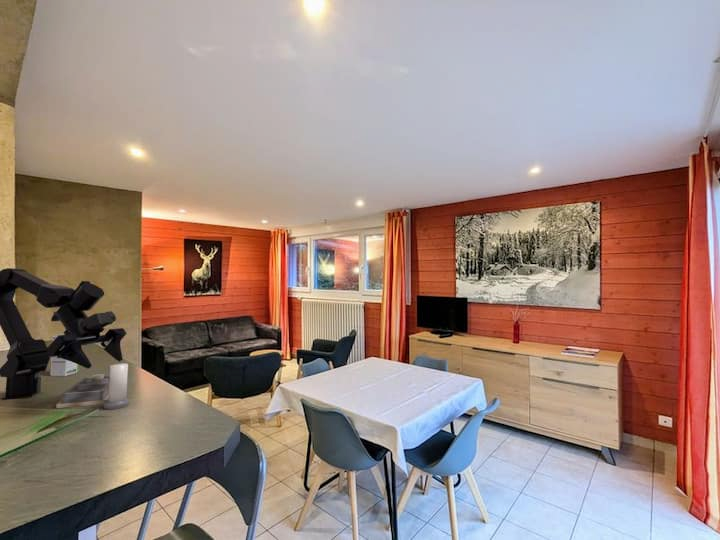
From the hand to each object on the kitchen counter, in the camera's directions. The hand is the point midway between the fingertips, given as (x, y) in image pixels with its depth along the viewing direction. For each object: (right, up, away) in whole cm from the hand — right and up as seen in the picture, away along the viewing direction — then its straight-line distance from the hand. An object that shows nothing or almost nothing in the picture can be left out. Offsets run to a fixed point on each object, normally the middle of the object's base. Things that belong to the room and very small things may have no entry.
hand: (106, 363), depth 95 cm
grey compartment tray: (-9, -11, +6) cm, 16 cm away
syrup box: (-37, -12, +30) cm, 49 cm away
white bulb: (+4, -11, -2) cm, 12 cm away
